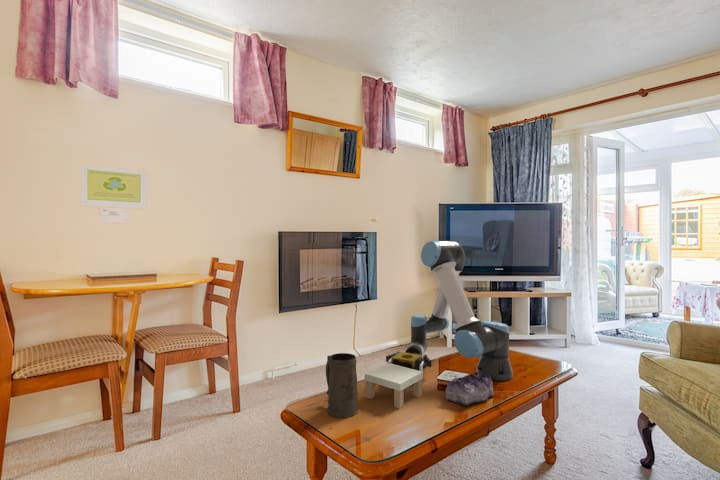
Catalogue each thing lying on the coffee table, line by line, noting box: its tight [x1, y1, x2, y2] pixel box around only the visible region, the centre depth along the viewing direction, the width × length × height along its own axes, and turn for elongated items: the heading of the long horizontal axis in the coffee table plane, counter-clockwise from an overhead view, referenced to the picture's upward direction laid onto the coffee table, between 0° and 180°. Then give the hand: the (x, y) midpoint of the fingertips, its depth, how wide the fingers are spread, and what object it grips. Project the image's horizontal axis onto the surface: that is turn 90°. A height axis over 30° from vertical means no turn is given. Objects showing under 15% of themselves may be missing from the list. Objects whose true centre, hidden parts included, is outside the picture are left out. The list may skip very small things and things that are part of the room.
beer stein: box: [325, 352, 359, 419], centre depth 139 cm, size 15×10×20 cm
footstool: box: [364, 362, 424, 410], centre depth 151 cm, size 16×16×9 cm
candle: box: [391, 351, 421, 386], centre depth 168 cm, size 10×10×10 cm
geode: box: [445, 373, 495, 406], centre depth 149 cm, size 20×12×10 cm, turn 121°
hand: (404, 367), depth 166 cm, fingers open, 13 cm apart
